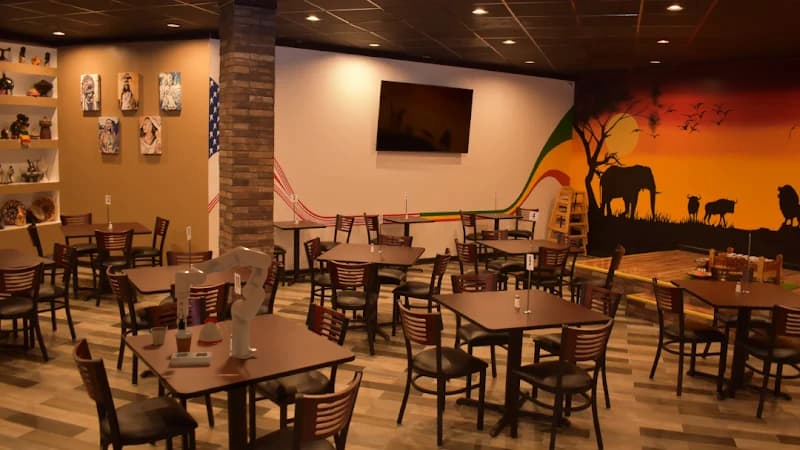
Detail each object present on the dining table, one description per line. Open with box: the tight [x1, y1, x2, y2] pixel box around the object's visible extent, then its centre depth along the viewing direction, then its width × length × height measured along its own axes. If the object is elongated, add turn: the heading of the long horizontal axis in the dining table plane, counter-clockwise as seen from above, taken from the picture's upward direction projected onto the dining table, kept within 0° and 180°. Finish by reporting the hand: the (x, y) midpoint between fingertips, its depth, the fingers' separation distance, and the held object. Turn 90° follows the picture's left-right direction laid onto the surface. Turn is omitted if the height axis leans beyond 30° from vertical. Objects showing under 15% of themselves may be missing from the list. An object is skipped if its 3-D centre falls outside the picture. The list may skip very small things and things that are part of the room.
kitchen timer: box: [198, 315, 224, 345], centre depth 405 cm, size 14×14×15 cm
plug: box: [176, 316, 188, 338], centre depth 359 cm, size 5×4×10 cm
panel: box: [170, 351, 213, 367], centre depth 362 cm, size 20×10×5 cm, turn 102°
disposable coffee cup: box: [174, 330, 193, 352], centre depth 379 cm, size 10×10×12 cm
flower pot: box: [149, 326, 168, 346], centre depth 396 cm, size 9×9×9 cm
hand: (182, 328), depth 359 cm, fingers closed on plug, 4 cm apart
